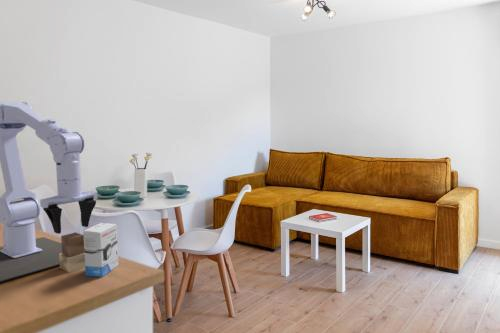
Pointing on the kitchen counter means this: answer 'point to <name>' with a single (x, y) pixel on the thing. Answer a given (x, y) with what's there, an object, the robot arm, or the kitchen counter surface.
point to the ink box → (100, 249)
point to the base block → (72, 262)
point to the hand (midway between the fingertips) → (71, 229)
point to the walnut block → (72, 244)
